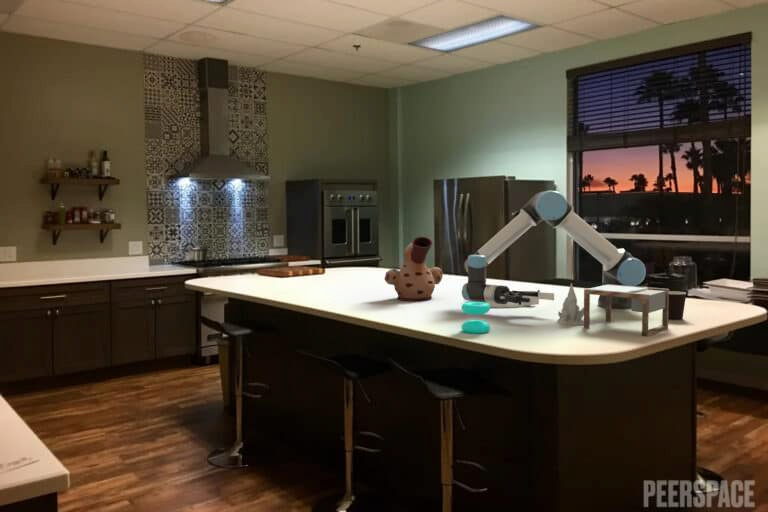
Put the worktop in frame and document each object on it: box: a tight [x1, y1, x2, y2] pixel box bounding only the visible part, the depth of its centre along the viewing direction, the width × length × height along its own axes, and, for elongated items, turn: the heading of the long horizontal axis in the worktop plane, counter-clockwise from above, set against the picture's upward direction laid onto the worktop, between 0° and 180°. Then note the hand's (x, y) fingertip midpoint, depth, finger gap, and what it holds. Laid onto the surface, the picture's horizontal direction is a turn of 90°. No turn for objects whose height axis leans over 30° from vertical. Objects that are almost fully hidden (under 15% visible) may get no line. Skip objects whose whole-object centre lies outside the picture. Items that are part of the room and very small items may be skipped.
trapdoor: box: [588, 285, 665, 314], centre depth 231 cm, size 22×15×7 cm
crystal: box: [556, 282, 584, 326], centre depth 245 cm, size 10×13×15 cm
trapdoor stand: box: [583, 284, 670, 337], centre depth 231 cm, size 23×19×14 cm
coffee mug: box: [668, 290, 687, 321], centre depth 251 cm, size 12×9×10 cm
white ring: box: [469, 288, 538, 308], centre depth 297 cm, size 28×28×5 cm
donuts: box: [460, 301, 491, 334], centre depth 229 cm, size 10×10×10 cm
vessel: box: [384, 236, 444, 302], centre depth 309 cm, size 29×22×30 cm
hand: (546, 298), depth 251 cm, fingers open, 13 cm apart
